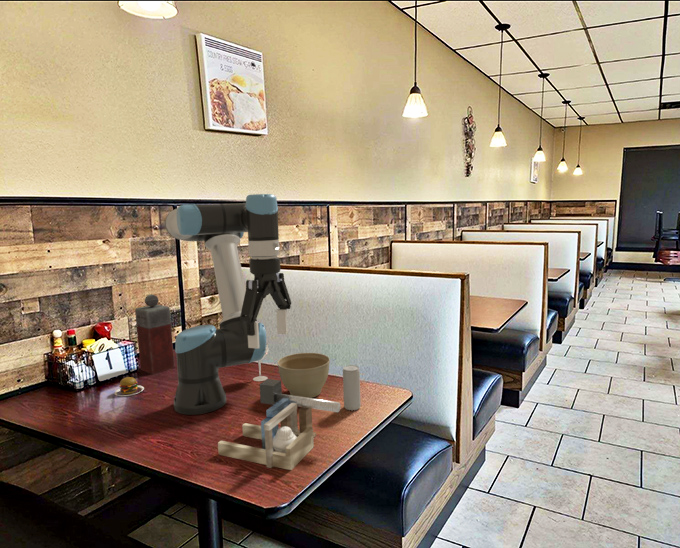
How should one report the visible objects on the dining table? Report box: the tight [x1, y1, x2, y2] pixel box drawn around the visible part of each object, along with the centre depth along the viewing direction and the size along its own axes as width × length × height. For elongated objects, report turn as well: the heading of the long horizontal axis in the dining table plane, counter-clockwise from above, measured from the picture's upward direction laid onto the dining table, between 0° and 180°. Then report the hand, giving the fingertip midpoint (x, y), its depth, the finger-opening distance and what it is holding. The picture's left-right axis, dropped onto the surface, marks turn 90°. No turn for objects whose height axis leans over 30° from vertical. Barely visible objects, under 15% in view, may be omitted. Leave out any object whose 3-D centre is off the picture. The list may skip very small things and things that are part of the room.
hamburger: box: [114, 376, 145, 397], centre depth 158 cm, size 12×12×6 cm
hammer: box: [259, 378, 342, 451], centre depth 117 cm, size 21×14×13 cm, turn 66°
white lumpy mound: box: [273, 426, 297, 453], centre depth 114 cm, size 6×6×7 cm
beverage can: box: [342, 364, 362, 412], centre depth 139 cm, size 5×5×12 cm
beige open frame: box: [217, 403, 315, 471], centre depth 116 cm, size 20×13×10 cm, turn 66°
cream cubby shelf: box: [279, 405, 317, 438], centre depth 123 cm, size 9×4×8 cm, turn 66°
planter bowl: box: [277, 352, 331, 399], centre depth 151 cm, size 16×16×11 cm
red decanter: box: [134, 294, 175, 375], centre depth 179 cm, size 9×11×28 cm
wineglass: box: [252, 342, 270, 382], centre depth 165 cm, size 7×7×12 cm
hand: (269, 340), depth 123 cm, fingers open, 13 cm apart
